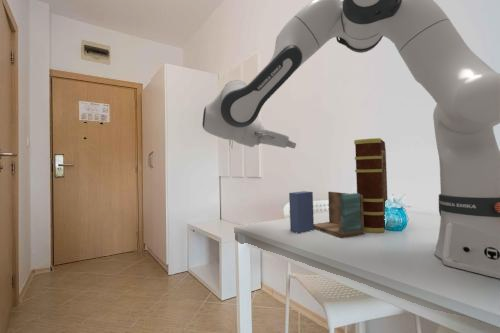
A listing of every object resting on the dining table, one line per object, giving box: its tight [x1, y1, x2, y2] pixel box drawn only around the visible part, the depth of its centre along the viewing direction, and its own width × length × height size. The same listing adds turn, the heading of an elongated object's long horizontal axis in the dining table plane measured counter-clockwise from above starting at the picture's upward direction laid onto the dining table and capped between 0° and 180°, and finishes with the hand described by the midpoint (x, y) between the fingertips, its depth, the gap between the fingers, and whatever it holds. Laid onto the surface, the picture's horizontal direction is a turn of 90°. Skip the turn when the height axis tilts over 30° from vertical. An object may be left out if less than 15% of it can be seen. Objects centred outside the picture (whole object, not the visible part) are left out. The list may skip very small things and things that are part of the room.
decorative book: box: [353, 137, 388, 234], centre depth 93 cm, size 22×8×30 cm, turn 148°
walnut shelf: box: [314, 191, 365, 239], centre depth 87 cm, size 15×9×13 cm, turn 23°
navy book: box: [288, 190, 315, 234], centre depth 88 cm, size 4×7×13 cm, turn 123°
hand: (288, 145), depth 88 cm, fingers open, 8 cm apart
